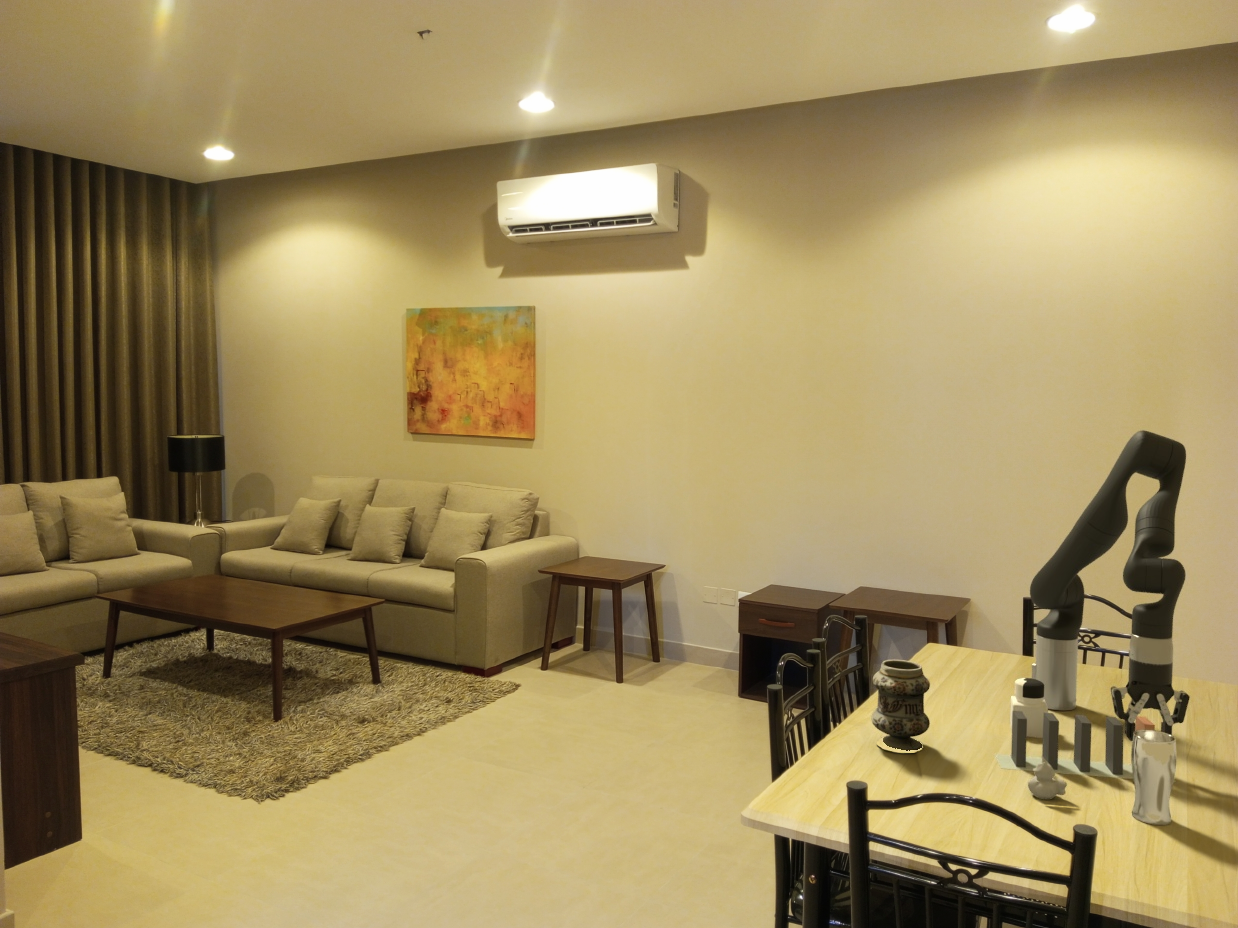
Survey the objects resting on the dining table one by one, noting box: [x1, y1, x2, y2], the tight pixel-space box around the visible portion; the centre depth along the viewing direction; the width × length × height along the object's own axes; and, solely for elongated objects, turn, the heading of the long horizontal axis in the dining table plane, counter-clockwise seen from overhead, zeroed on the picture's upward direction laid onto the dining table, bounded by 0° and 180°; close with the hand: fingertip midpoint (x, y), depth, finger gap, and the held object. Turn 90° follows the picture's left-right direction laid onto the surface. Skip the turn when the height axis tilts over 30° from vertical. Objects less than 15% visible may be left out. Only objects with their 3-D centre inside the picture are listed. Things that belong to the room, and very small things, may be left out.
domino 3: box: [1073, 714, 1092, 773], centre depth 187 cm, size 2×5×10 cm, turn 167°
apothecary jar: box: [870, 659, 931, 751], centre depth 199 cm, size 12×12×18 cm
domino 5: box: [1135, 715, 1156, 731], centre depth 186 cm, size 2×5×10 cm, turn 169°
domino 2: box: [1041, 712, 1060, 770], centre depth 188 cm, size 2×5×10 cm, turn 167°
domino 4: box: [1104, 716, 1125, 775], centre depth 186 cm, size 2×5×10 cm, turn 167°
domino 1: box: [1010, 711, 1028, 768], centre depth 190 cm, size 2×5×10 cm, turn 168°
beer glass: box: [1130, 729, 1177, 826], centre depth 165 cm, size 7×7×15 cm
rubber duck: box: [1027, 755, 1068, 801], centre depth 173 cm, size 5×7×8 cm
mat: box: [993, 753, 1177, 783], centre depth 187 cm, size 32×8×1 cm, turn 78°
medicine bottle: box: [1009, 677, 1049, 739], centre depth 208 cm, size 7×7×12 cm
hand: (1147, 740), depth 184 cm, fingers open, 5 cm apart
